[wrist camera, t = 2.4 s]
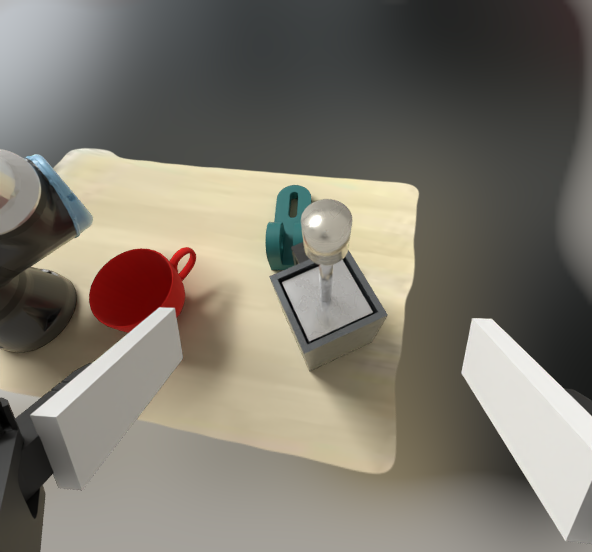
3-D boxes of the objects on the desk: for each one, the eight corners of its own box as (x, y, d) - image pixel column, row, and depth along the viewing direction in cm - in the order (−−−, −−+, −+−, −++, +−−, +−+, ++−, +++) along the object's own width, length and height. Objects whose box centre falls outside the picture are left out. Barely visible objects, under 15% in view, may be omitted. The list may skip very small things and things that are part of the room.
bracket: (308, 271, 56) (306, 249, 49) (271, 270, 57) (264, 249, 50) (312, 192, 64) (310, 163, 57) (279, 192, 64) (274, 164, 57)
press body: (274, 292, 55) (259, 254, 42) (330, 268, 56) (332, 223, 43) (309, 371, 48) (303, 353, 36) (371, 341, 50) (387, 315, 37)
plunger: (282, 284, 41) (256, 200, 26) (340, 258, 42) (349, 163, 26) (309, 342, 38) (298, 287, 22) (372, 313, 38) (404, 240, 23)
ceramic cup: (229, 291, 56) (211, 266, 47) (152, 360, 51) (115, 347, 42) (188, 249, 60) (163, 218, 51) (113, 308, 56) (73, 287, 47)
